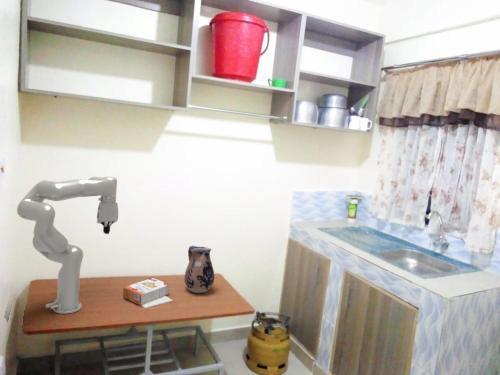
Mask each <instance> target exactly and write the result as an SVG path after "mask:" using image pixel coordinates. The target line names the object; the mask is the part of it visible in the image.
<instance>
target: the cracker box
mask: <svg viewBox="0 0 500 375" xmlns="http://www.w3.org/2000/svg"><path fill="white" fill-rule="evenodd" d="M170 286H171V285H170V284H169V283H168V282H167V283H166V282H165V281H162V280H159V279H156V278H154V277H151V278H147V279H146V280H141V281H139V282H135V283H133V284H130V285H126V286H124V287H123V292H122V298H124V299H126V300H129V301H131V302H133V303H134V304H137V305H139V306H141V305H142V304H144V303H147V302H149V301H152V300H155V299H157V298H160V297H162V296H167V295H169V293H170Z"/></svg>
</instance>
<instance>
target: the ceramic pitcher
mask: <svg viewBox="0 0 500 375" xmlns="http://www.w3.org/2000/svg"><path fill="white" fill-rule="evenodd" d="M211 251H212V248H210V247H206V246H195V245H190V246H189V247H188V250H187V253H188V254H187V255H188V264H187V267H186V269H185V273H184V283H185V285H186V288H188V290H189V291H191V293H196V294H203V293H207V292H208V291H209V290H210V289H211V288H212V286H213V285H214V282H215V271H214V268H213V267H214V266H213V262H212V260H211Z"/></svg>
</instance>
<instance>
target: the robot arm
mask: <svg viewBox="0 0 500 375" xmlns="http://www.w3.org/2000/svg"><path fill="white" fill-rule="evenodd" d="M117 186H118V180H117V178H116V177H114V176H104V177H100V176H92V177H90V178H88V180H87V179H71V180H64V181H51V180H41V181H39V182H37V183H36V184H35V185H34V186H33V187H32V188H31V189H30V190H28V191H29V192H28V193H27V194H26V195H25V196H24V197H23V198H22V199H21V200H20V202H19V203H18V205H17V208H16V212H17V215H18V217H20V218H21V219H24V220H28V221H33V222H35V225H34V229H33V233H32V234H33V238H32V245H33V248H34V249H35V250H36V251H37V252H39V254H41V255H43V256H44V257H45V258H46V259H47V260H49V261H51V262H54V263H58V264H61V265H62V266H61V267H60V268H59V271H58V275H57V295H56V299H54V301H53V302H51V303H50V302H49V303H46V304H45V309H50V310H53V312H54V313H57V314H60V315H61V314H62V315H64V314H73V313H76V312H78V311H79V310H81V309H82V305H83V304H82V302H80V301H79V298H80V296H79V295H80V279H81V278H80V277H81V267H82V262H83V258H84V251H83V250H82V248H80V246H77V245H74V244H69V240H68V239H67V237H65V235H63V233H61V232H60V231H59V230H58V229H57V228H56V227H55V226H54V223H55V222H54V221H55V218H56V211H55V208H54V206H53V205H51V204H49V203H47V202H44V201H45V200H48V201H53V202H59V201H60V202H62V201H65V200H70V199H76V198H87V197H99V196H100V197H99V198H98V201H100V202H99V203H98V207H97V214H96V219H97V220H96V223H97V224H101V225H102V226H103V232H102V233H103V234H105V235H108V234H110V231H111V226H112V225H113V224H115V223H117V222H118V220H119V205H118V202H116V201H117Z"/></svg>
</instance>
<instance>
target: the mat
mask: <svg viewBox="0 0 500 375" xmlns="http://www.w3.org/2000/svg"><path fill="white" fill-rule="evenodd" d="M172 302H173V299H171V298H170V297H168V296H167V295H165V296H162V297H160V298H157V299H155V300H152V301H149V302H147V303H144V304H142V305H140V306H141V307H142V308H143V309H146V310H147V309H149V308H154V307H156V306H159V305H160V306H161V305H164V304H168V303H172Z"/></svg>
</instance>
